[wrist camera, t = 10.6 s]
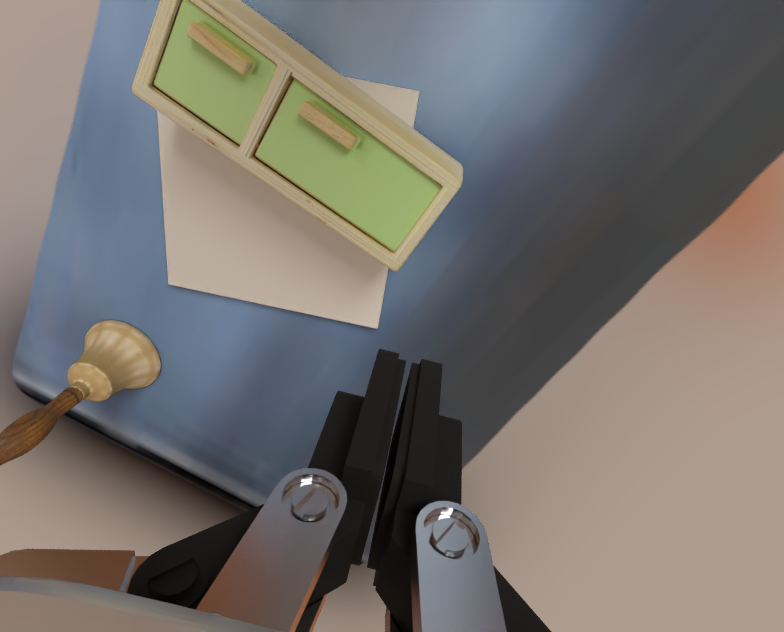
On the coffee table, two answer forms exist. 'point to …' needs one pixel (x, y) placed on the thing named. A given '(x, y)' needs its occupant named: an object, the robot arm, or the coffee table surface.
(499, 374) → the coffee table surface
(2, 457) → the hand bell
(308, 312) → the sheet of paper
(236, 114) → the toy refrigerator
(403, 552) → the robot arm
